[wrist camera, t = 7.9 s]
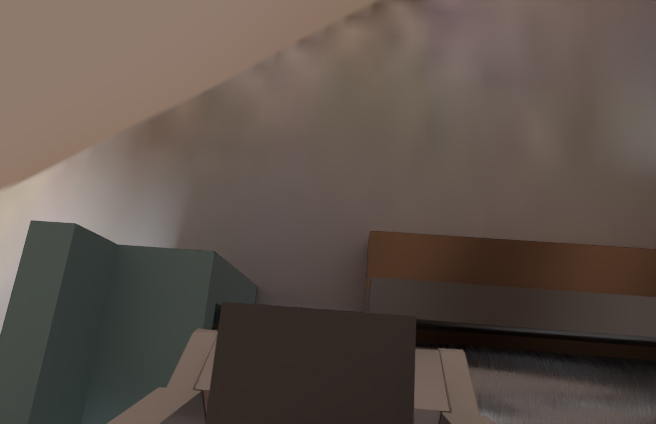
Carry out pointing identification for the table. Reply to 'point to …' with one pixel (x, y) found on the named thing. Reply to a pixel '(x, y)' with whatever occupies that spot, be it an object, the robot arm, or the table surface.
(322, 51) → the table surface
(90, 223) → the table surface
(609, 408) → the tube
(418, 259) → the channel tray
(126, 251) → the socket block
